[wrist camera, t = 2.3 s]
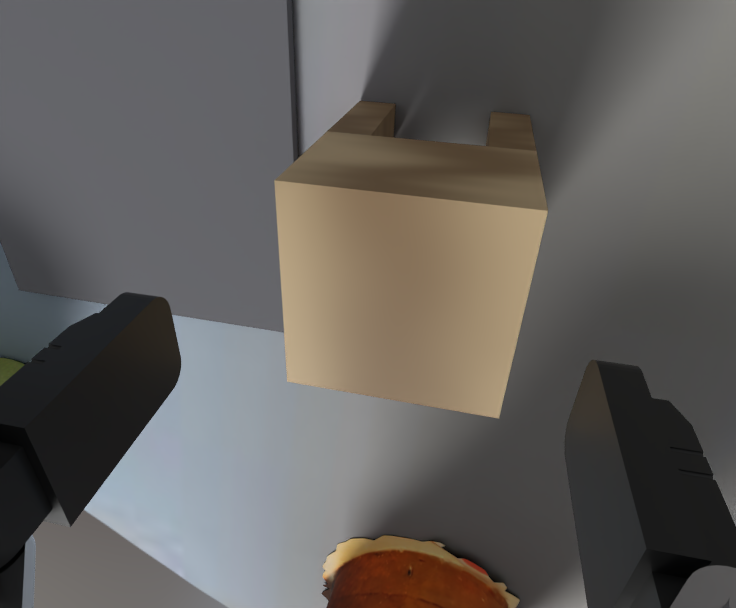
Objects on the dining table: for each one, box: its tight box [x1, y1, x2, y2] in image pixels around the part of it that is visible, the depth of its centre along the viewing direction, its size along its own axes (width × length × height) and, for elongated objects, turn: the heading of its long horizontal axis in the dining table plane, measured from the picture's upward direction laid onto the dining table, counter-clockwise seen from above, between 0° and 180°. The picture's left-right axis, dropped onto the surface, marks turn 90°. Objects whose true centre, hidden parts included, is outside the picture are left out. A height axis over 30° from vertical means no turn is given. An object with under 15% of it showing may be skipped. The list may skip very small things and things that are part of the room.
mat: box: [0, 0, 298, 332], centre depth 20 cm, size 14×14×1 cm
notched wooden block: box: [274, 101, 548, 418], centre depth 15 cm, size 6×6×8 cm
